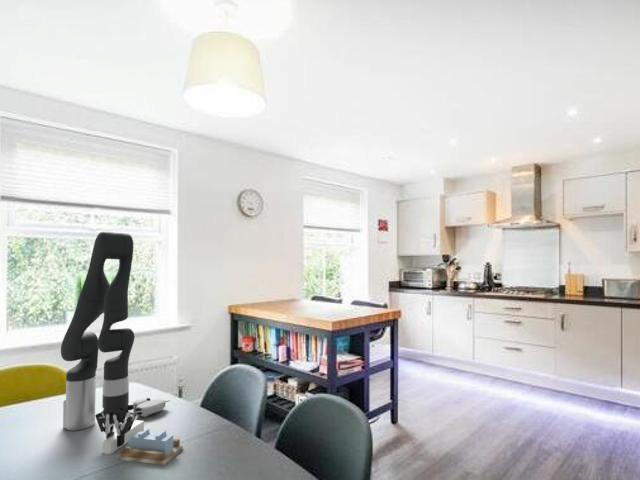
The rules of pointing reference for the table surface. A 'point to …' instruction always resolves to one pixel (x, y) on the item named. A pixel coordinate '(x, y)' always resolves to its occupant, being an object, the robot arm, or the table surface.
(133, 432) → the white rectangular bar
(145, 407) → the robot toy
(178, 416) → the table surface
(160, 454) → the jig
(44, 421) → the table surface
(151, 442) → the light blue stepped block
